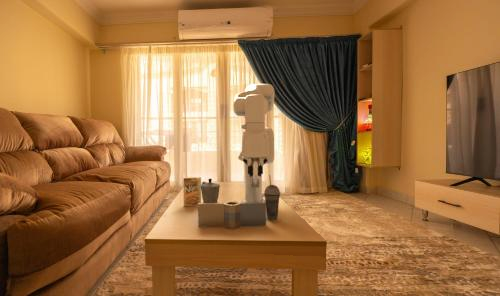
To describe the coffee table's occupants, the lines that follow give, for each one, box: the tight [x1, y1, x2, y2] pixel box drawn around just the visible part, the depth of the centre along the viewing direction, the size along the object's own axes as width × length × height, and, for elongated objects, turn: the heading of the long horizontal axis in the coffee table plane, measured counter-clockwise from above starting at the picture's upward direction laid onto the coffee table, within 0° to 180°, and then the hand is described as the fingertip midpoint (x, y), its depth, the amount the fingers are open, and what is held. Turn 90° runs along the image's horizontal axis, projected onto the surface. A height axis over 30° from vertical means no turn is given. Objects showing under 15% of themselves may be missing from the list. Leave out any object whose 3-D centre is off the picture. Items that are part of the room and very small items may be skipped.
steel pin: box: [251, 158, 259, 187], centre depth 103 cm, size 3×3×12 cm
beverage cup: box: [263, 174, 281, 222], centre depth 121 cm, size 7×7×20 cm
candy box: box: [182, 176, 202, 207], centre depth 148 cm, size 9×4×15 cm, turn 87°
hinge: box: [197, 200, 267, 230], centre depth 112 cm, size 28×7×10 cm, turn 92°
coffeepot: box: [201, 178, 221, 203], centre depth 126 cm, size 15×9×18 cm, turn 33°
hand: (255, 175), depth 103 cm, fingers closed on steel pin, 3 cm apart
